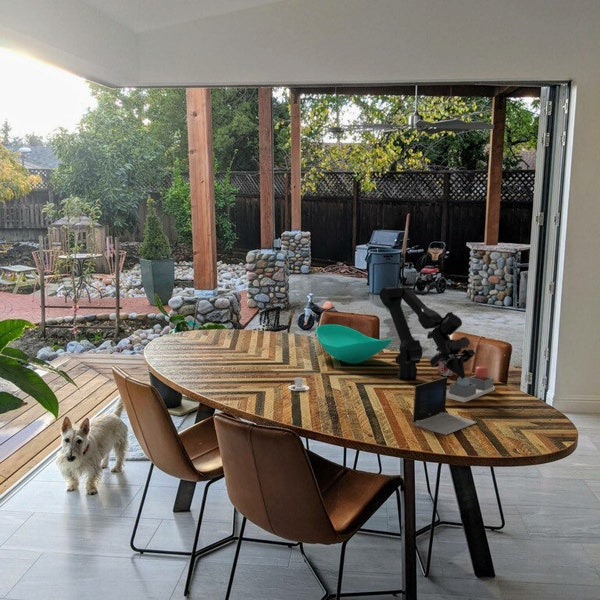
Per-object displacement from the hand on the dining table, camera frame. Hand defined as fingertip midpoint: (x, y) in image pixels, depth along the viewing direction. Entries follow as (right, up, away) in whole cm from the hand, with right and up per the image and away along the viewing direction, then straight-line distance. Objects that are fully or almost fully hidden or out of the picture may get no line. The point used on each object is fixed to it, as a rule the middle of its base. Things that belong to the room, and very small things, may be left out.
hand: (463, 377), depth 235 cm
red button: (+9, -3, +11) cm, 14 cm away
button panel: (+3, -7, +7) cm, 10 cm away
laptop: (-13, -12, -29) cm, 34 cm away
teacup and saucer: (-63, -5, +4) cm, 63 cm away
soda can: (+1, -3, +33) cm, 33 cm away
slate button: (0, -6, +1) cm, 6 cm away
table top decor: (-37, +1, +50) cm, 62 cm away
